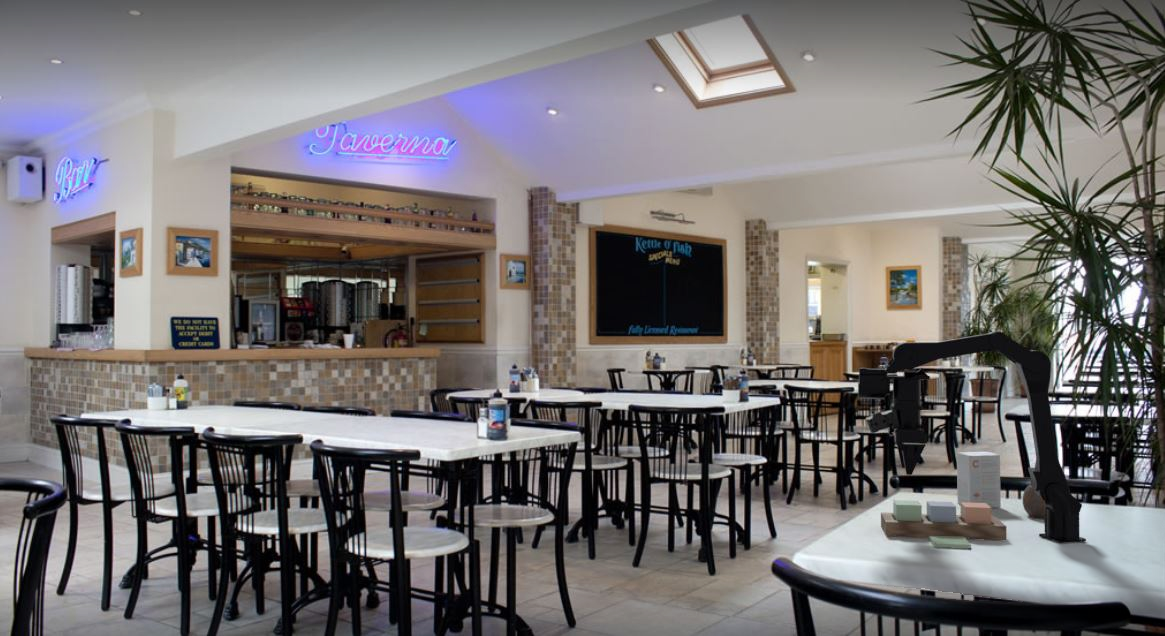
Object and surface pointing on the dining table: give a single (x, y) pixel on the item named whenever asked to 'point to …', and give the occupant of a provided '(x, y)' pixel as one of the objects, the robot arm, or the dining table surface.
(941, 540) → the sage tile
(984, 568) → the dining table surface
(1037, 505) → the vase
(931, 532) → the walnut panel
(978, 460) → the small box
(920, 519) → the sage button
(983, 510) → the terracotta button
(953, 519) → the slate button
